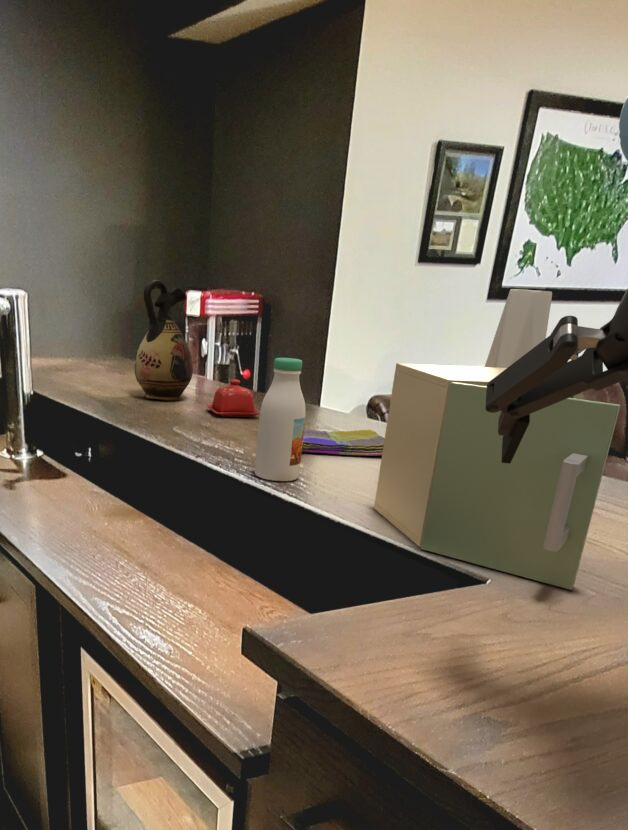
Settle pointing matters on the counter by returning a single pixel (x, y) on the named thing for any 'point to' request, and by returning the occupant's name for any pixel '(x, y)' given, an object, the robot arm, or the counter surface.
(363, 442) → the dish towel
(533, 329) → the tall faceted taper
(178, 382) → the ceramic jug
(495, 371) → the cupboard
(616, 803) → the counter surface
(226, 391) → the butter dish
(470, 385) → the cupboard door
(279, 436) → the milk bottle
